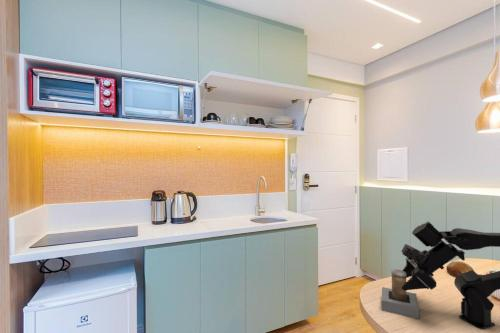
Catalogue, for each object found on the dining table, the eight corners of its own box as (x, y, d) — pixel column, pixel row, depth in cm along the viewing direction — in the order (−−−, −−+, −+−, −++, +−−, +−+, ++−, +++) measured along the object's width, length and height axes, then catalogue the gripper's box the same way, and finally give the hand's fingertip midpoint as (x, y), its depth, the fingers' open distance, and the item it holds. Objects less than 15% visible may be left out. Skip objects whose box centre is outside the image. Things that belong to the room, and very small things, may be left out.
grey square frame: (415, 303, 91) (415, 293, 91) (419, 319, 81) (419, 308, 82) (382, 295, 96) (382, 286, 96) (381, 310, 87) (381, 300, 87)
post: (408, 306, 89) (407, 271, 89) (405, 311, 86) (404, 275, 86) (393, 301, 92) (393, 268, 92) (390, 306, 89) (389, 272, 89)
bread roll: (473, 282, 114) (470, 264, 117) (478, 281, 106) (476, 262, 109) (446, 278, 119) (444, 260, 122) (449, 276, 111) (447, 258, 114)
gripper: (412, 232, 95) (380, 257, 100) (423, 246, 78) (384, 275, 83) (437, 255, 92) (403, 279, 96) (454, 275, 75) (412, 303, 79)
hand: (400, 283), depth 89 cm, fingers open, 9 cm apart
